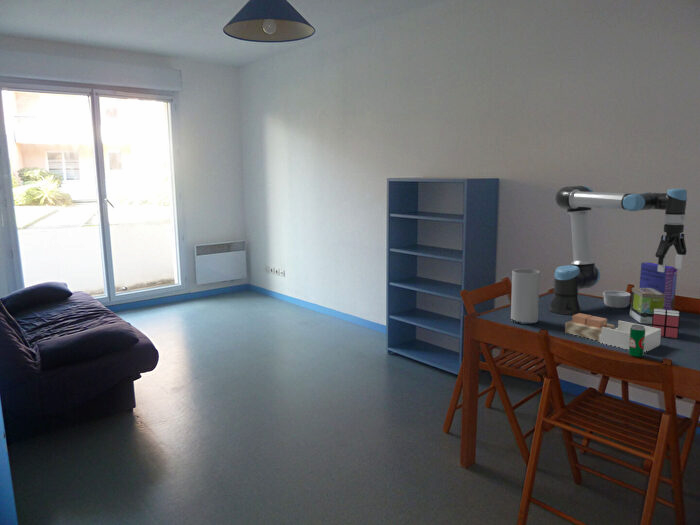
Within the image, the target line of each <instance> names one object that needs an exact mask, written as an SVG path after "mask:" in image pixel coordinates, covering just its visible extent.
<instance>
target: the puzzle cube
mask: <svg viewBox="0 0 700 525" xmlns="http://www.w3.org/2000/svg"><path fill="white" fill-rule="evenodd" d="M680 315H681V314H680V311H678V310H674V311H672V310H667V311H666V310H662V309H653V317H652V324H651V327H654V328H659V329H661V338H668V337H670V338H671V339H676V338H677V339H678V338H679V333H680V332H679V331H680V320H681V316H680ZM670 338H669V339H670Z"/></svg>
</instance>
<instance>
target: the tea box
mask: <svg viewBox="0 0 700 525" xmlns="http://www.w3.org/2000/svg"><path fill="white" fill-rule="evenodd" d="M630 294H631V297H630V308H629V316H630V317H632V318H633V319H634V320H635V321H636V322H638V323H640V324H642V325H645V324H646V325H652V317H653V309H662V310H663V308H664V298H665V294H663V293H661V292H659V291H657V290H655V289H653V288H640V287H631V293H630Z"/></svg>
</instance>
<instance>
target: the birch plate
mask: <svg viewBox="0 0 700 525" xmlns="http://www.w3.org/2000/svg"><path fill="white" fill-rule="evenodd" d="M604 327H605V328H610V329H615V327H616V326H615V324H612V323H607V325H606V326H604ZM601 331H602V327H601V328H597V327H593V326H588V325H584V324H579V323H575V322H572V320H569V321H566V322H565V326H564V334H566V333H569V334H568V335H570V334H573V335H572V336H574V335H578V336H577V337H579V336H581V337H580V338H583V337H585V338H584V339H587V338H589V339H588V340H591V339H593V340H592V341H595V340H597V341H596V342H599V335H600V334H601Z"/></svg>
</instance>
